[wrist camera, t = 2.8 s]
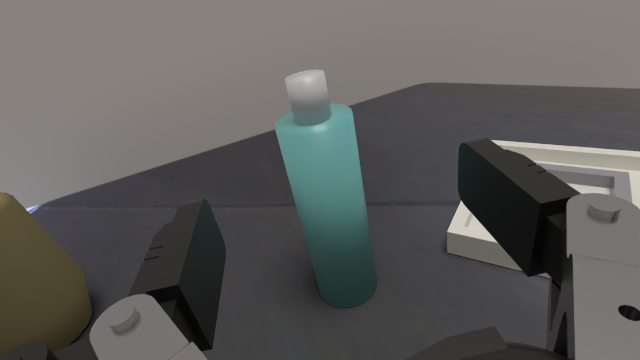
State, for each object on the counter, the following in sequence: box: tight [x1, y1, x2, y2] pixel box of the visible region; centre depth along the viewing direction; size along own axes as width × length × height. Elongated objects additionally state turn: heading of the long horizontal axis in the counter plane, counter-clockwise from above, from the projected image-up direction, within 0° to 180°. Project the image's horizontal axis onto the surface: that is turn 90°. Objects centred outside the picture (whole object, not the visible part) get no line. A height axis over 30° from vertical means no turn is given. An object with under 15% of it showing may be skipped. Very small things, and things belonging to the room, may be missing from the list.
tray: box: [447, 140, 640, 278], centre depth 30 cm, size 16×14×2 cm
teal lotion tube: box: [275, 70, 377, 308], centre depth 24 cm, size 5×5×16 cm
